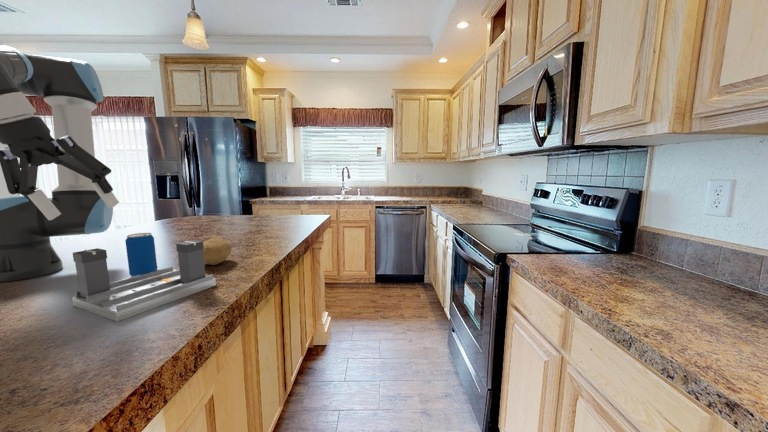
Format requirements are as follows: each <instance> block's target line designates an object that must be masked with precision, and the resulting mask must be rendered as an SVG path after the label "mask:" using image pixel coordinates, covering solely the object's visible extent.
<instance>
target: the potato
mask: <svg viewBox="0 0 768 432" xmlns="http://www.w3.org/2000/svg"><path fill="white" fill-rule="evenodd" d="M203 246H204V249H203V255H204V264H206V265H211V266H217V265H218V264H220V263H222V262H224V261H226V260H227V259H228V257H229V256H230V255H231V253H232V247H231V246H230V244H229V243H228V241H227V240H226V239H224V238H221V237H212V238H210V239H207V240H204V241H203Z"/></svg>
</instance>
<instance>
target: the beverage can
mask: <svg viewBox="0 0 768 432" xmlns="http://www.w3.org/2000/svg"><path fill="white" fill-rule="evenodd" d="M154 237H155V236H154V235H153V233H151V232H138V233H132V234H128V235H126V239H125V240H124V241H125V249H126V256H127V264H128V265H127V266H128V271H129V272H128V273H129V275H130V277H134V276H138V275H141V274H145V273H149V272H153V271H156V270H158V262H157V254H156V253H157V252H156V245H155V238H154Z"/></svg>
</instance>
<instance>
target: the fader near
mask: <svg viewBox="0 0 768 432" xmlns="http://www.w3.org/2000/svg"><path fill="white" fill-rule="evenodd" d="M72 257H73V259H72V261H73V262H74V264H75V270H76V278H77V283H78V291H80V296H83V297H86V296H88V295H91V294H95V293H98V292H102V291H105V290H109V289H110V283H111V282H110V277H109V269H108V261H107V259H108V254H107V249H103V248H98V247H97V248H91V249H85V250H82V251H81V250H79V251H76V252H72Z"/></svg>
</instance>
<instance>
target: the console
mask: <svg viewBox="0 0 768 432" xmlns="http://www.w3.org/2000/svg"><path fill="white" fill-rule="evenodd" d="M216 279H217V278H216V277H214V274H209V275H205V277H202V278H199V279H196V280H193V281H190V282H187V283H183V282H181V278H180V269H174V267H173V266H169V267H168V266H167V267H164V268H160V269H157V270H156V271H153V272H149V273H145V274H141V275H138V276H134V277H133V276H130V277H127V278H122V279H119V280H116V281H112V282H109V283H110V289H109V290H105V291H102V292H98V293H95V294H91V295H88V296H86V297H83V296H80V291H79V290H78V291H75V292H74V296H72V297H71V299H72V305H73V307H76V308H79V309H81V310H84V311H86V312H89V313H93V314H95V315H97V316H100V317H103V318H107V319H109V320H112V321H114V322H120V321H123V320H125V319H128V318H131V317H133V316H136V315H139V314H142V313H144V312H147V311H150V310H153V309H155V308H158V307H161V306H163V305H166V304H168V303H172V302H174V301H176V300H181V299H182V298H185V297H188V296H190V295H194V294H196V293H199V292H202V291H204V290H207V289H210V288H212V287H216V286H217V282H216V281H217V280H216Z"/></svg>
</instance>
